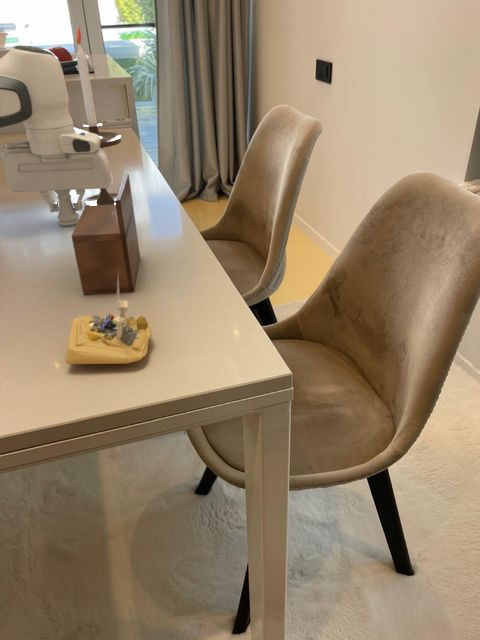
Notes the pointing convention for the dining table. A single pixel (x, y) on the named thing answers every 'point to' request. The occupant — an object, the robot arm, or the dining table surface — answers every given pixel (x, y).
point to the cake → (108, 338)
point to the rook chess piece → (66, 209)
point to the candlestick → (94, 123)
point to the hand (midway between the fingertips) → (67, 210)
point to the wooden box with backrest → (108, 245)
